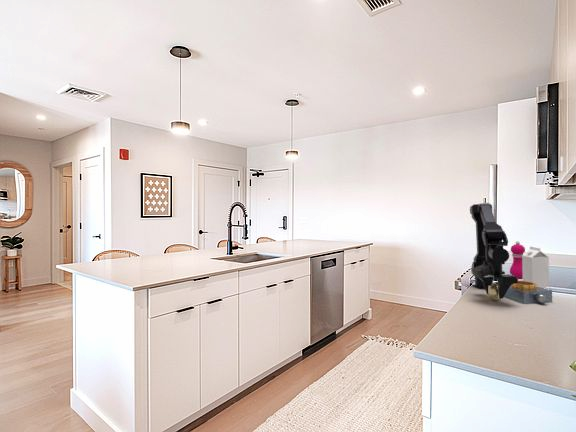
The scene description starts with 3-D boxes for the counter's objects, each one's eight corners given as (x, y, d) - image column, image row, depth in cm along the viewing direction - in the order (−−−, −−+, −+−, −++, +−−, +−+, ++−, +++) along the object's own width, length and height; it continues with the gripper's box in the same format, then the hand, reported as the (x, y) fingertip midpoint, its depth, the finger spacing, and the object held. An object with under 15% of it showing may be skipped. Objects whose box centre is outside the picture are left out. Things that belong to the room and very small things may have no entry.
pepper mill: (524, 279, 169) (523, 240, 168) (529, 282, 162) (528, 242, 161) (507, 278, 171) (507, 240, 170) (512, 281, 164) (511, 242, 164)
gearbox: (498, 294, 143) (498, 280, 143) (523, 292, 144) (523, 278, 144) (530, 306, 126) (530, 289, 126) (559, 304, 127) (558, 288, 127)
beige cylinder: (485, 298, 138) (485, 282, 137) (495, 298, 138) (495, 282, 138) (493, 301, 133) (493, 285, 133) (503, 301, 134) (503, 284, 133)
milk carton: (538, 286, 153) (538, 246, 153) (549, 290, 146) (548, 248, 146) (522, 287, 154) (521, 246, 153) (532, 290, 147) (531, 248, 146)
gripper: (461, 256, 144) (462, 291, 144) (491, 263, 125) (492, 304, 126) (485, 255, 145) (486, 290, 145) (518, 262, 126) (519, 302, 126)
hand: (494, 296), depth 136 cm, fingers open, 7 cm apart
